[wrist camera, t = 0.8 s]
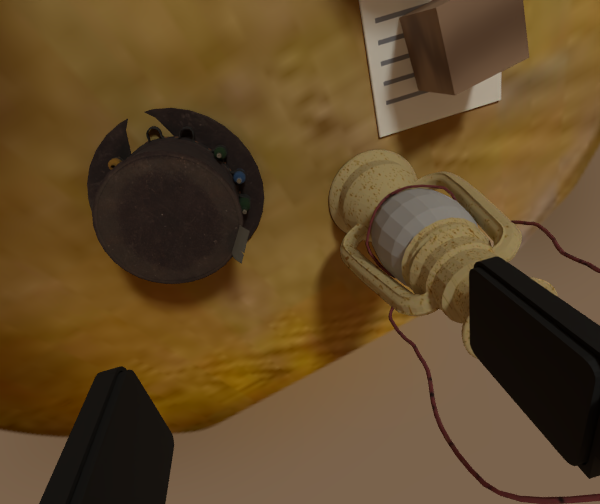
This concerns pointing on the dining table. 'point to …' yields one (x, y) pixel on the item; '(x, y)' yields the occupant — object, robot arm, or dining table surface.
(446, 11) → the walnut block
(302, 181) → the dining table surface
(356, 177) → the lantern
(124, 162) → the top hat
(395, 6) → the letter
